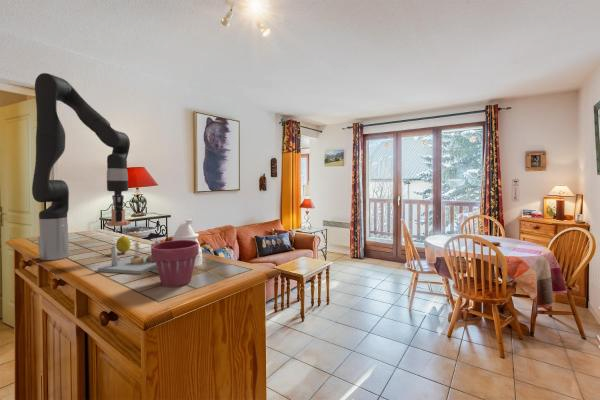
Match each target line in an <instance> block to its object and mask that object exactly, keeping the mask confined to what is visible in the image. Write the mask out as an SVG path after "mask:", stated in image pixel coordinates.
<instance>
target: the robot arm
mask: <svg viewBox="0 0 600 400" xmlns="http://www.w3.org/2000/svg"><path fill="white" fill-rule="evenodd" d="M34 94H35V95H34V97H35V103H36V105H35V106H36V131H35V132H36V133H35V165H34V172H33V179H32V184H31V185H32V186H31V194H32V197H33V199H34V200H35V202H37V203H51V205H50V206H49V207H47V208H45V209H43V210H41V211H39V212H38V220H39V221H38V222H39V236H38V257H39V259H40V260H42V261H55V260H57V261H58V260H62V259H66V258H69V257H70V251H69V250H70V248H69V247H70V246H69V226H68V212H69V207H70V205H69V203H70V202H69V201H70V198H69V197H70V191H69V186H68V184H67V182H66V181H64V180H62V179H50V176H51V172H52V169H53V167H54V166H55V164H56V163H57V162H58V160H59V159H60V158H61V157H62V156H63V154H64V152H65V149H66V131H65V128H64V127H63V124H62V122H61V120H60V118H59V116H58V112H57V111H58V110H57V101H58V102H62V103H63V104H65V105H66V106H68V107H69V108H70V109H72V110H73V112H75V114H76V116H77V117H78V119H79V120H80V121H81V122H82V124H84V125H85V126H86V127H87V128H88V129H89V130H91V132H93V133H95V134H94V135H96V136H97V138H98V139H99V140H100V141H101V143H103V144H104V145H105V146H107V147H110V148H112V152H111V153H110V154H108V155H107V157H106V163H107V164H106V166H107V168H106V170H107V171H106V191H107V192H114V193H113V195H112V196H111V198H112V206H113V209H115V212H116V221H122V211H123V209H124V208H123V207H124V200H125V199H124V198H125V197H124V195H122V193H123V192H128V191H129V175H128V160H127V158H128V156H129V152H130V146H131V141H130V138H129V136H128V135H127V134H126V133H125V132H122V131H119V130H116V129H114V128H113V127H111V123H110V122H109V121H108V120H107V119H106V118H105V117H104V116H103V115H101V113H100V112H99V111H97V110H96V109H94V107H92V106H91V105H90V104H89V103H88V102H87V101H86V100H85V99H84V98H83V96H81V95H80V94H79V93H78V91H77V90H76V88H74V87H73V85H71V83H69V81H67V80H65V79H64V78H62V77H59V76H56V75H53V74H50V73H46V72H43V73H40V74H38V76H37V77H36V78H35V82H34Z"/></svg>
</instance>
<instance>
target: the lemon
mask: <svg viewBox="0 0 600 400" xmlns="http://www.w3.org/2000/svg"><path fill="white" fill-rule="evenodd" d="M115 246H116V248H117V252H118V251H119V252H120V253H122V254H125V253H126V252H128V251H129V250H130V248H131V241H130V238H128V237H127V236H125V235H122V236H121V237H119V238H118V239H117V240H116V244H115Z"/></svg>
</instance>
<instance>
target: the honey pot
mask: <svg viewBox="0 0 600 400" xmlns="http://www.w3.org/2000/svg"><path fill="white" fill-rule="evenodd" d="M192 224H193V219H189V218H188V219H185V222H183V223H181V224H180V225H179V226H178V227H177V229H176V231H175V233H174V234H173V235H171V238H172V240H171V241H174V240H192V241H196V242H198V245H199V254H198V255H197V256H196V259H195V264H194V268H196V267H195V266H197V267H199V266H201V265H202V264H203V250H202V248H201V245H200V242H199V240H198V237H199V233H197V232H195V231H194V229H193V228H192V226H191V225H192ZM198 265H199V266H198Z"/></svg>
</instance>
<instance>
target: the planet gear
mask: <svg viewBox="0 0 600 400" xmlns="http://www.w3.org/2000/svg"><path fill="white" fill-rule="evenodd" d="M129 225H131V220H127V219H126V209H125V208H123V211H122V221H116V212H115V209H114V208H113V209H112V208H111V220H110V221H106V226H107V227H125V226H129Z"/></svg>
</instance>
